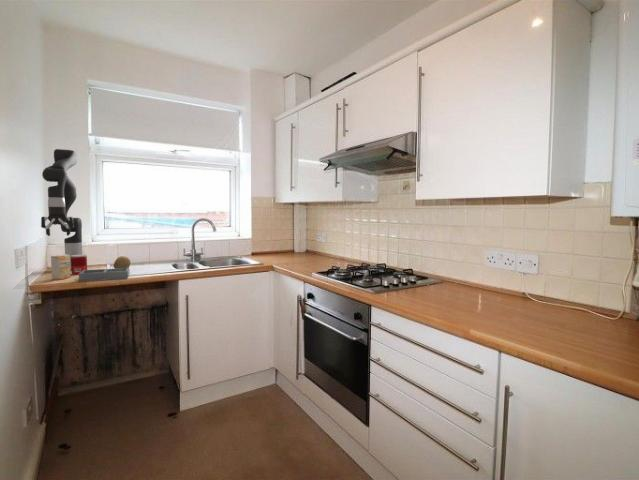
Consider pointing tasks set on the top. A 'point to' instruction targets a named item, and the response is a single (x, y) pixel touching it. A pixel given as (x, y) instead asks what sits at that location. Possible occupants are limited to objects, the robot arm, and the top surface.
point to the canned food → (78, 263)
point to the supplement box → (60, 267)
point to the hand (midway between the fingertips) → (58, 235)
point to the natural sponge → (122, 262)
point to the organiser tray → (103, 274)
